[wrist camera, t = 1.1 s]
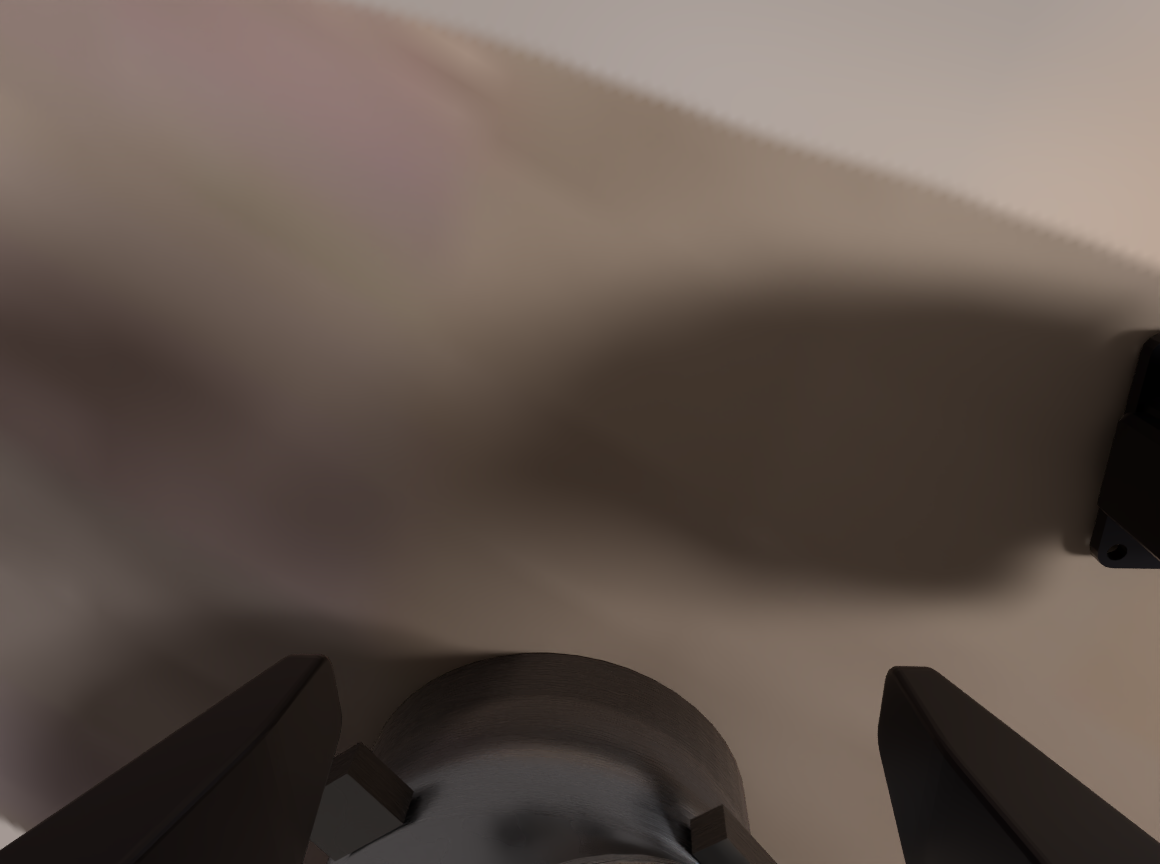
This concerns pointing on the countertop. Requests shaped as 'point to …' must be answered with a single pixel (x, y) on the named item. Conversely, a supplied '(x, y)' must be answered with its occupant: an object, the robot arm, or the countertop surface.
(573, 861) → the cooker lid
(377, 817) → the cooker pot
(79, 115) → the countertop surface
